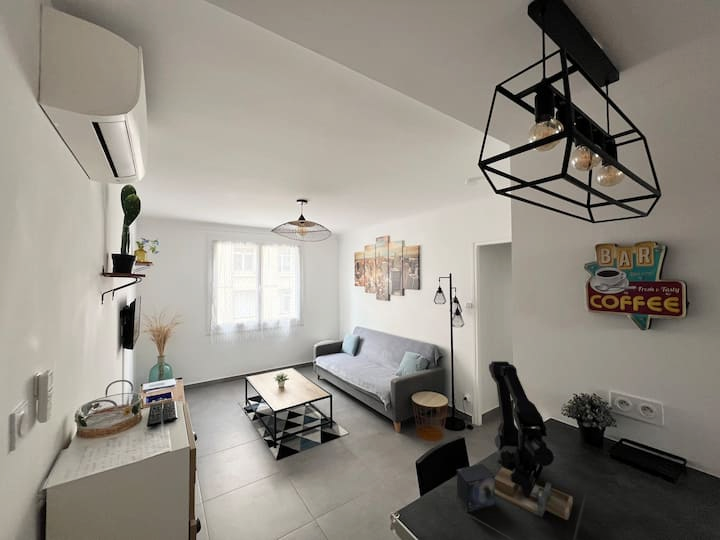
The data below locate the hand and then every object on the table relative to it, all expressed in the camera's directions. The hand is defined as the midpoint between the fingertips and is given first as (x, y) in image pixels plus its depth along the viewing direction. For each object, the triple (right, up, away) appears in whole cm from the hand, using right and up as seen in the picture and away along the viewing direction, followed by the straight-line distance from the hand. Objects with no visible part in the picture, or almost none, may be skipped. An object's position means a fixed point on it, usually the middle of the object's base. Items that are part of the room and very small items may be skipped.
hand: (529, 492), depth 98 cm
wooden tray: (0, -2, 0) cm, 2 cm away
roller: (0, 0, +1) cm, 1 cm away
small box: (-19, -3, -1) cm, 19 cm away
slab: (-5, -2, +5) cm, 7 cm away
